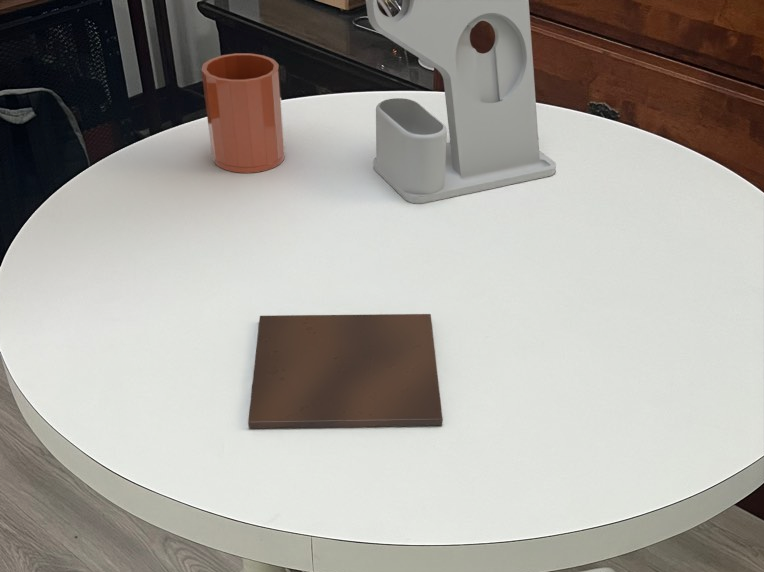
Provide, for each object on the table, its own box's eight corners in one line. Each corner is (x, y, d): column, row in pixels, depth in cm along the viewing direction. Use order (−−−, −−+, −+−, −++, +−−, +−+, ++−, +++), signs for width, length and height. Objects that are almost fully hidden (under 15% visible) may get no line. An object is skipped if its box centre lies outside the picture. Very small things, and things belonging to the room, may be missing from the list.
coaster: (248, 428, 72) (247, 422, 71) (260, 321, 81) (259, 315, 81) (442, 426, 72) (442, 419, 72) (430, 319, 82) (430, 313, 82)
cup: (209, 173, 100) (198, 81, 94) (216, 142, 106) (205, 53, 99) (283, 172, 101) (276, 81, 94) (286, 142, 106) (280, 53, 100)
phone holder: (408, 206, 96) (411, 3, 83) (364, 164, 102) (362, -30, 90) (560, 173, 102) (585, -21, 89) (510, 135, 108) (527, -51, 95)
